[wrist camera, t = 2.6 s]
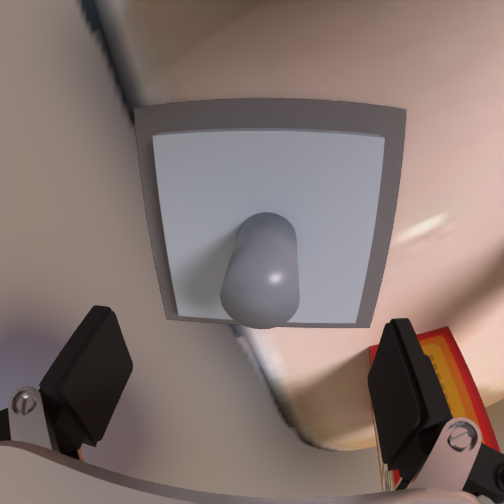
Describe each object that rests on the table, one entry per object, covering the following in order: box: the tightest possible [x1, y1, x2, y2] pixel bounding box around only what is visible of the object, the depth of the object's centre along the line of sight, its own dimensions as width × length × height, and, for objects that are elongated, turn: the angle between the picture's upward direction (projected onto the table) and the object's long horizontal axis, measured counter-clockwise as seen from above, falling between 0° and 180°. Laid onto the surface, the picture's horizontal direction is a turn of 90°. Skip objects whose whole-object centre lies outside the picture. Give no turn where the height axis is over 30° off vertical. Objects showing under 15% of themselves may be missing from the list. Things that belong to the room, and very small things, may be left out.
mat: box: [134, 98, 406, 328], centre depth 17 cm, size 14×14×1 cm
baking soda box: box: [369, 326, 500, 492], centre depth 16 cm, size 10×6×16 cm
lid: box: [153, 128, 385, 329], centre depth 14 cm, size 11×11×6 cm
